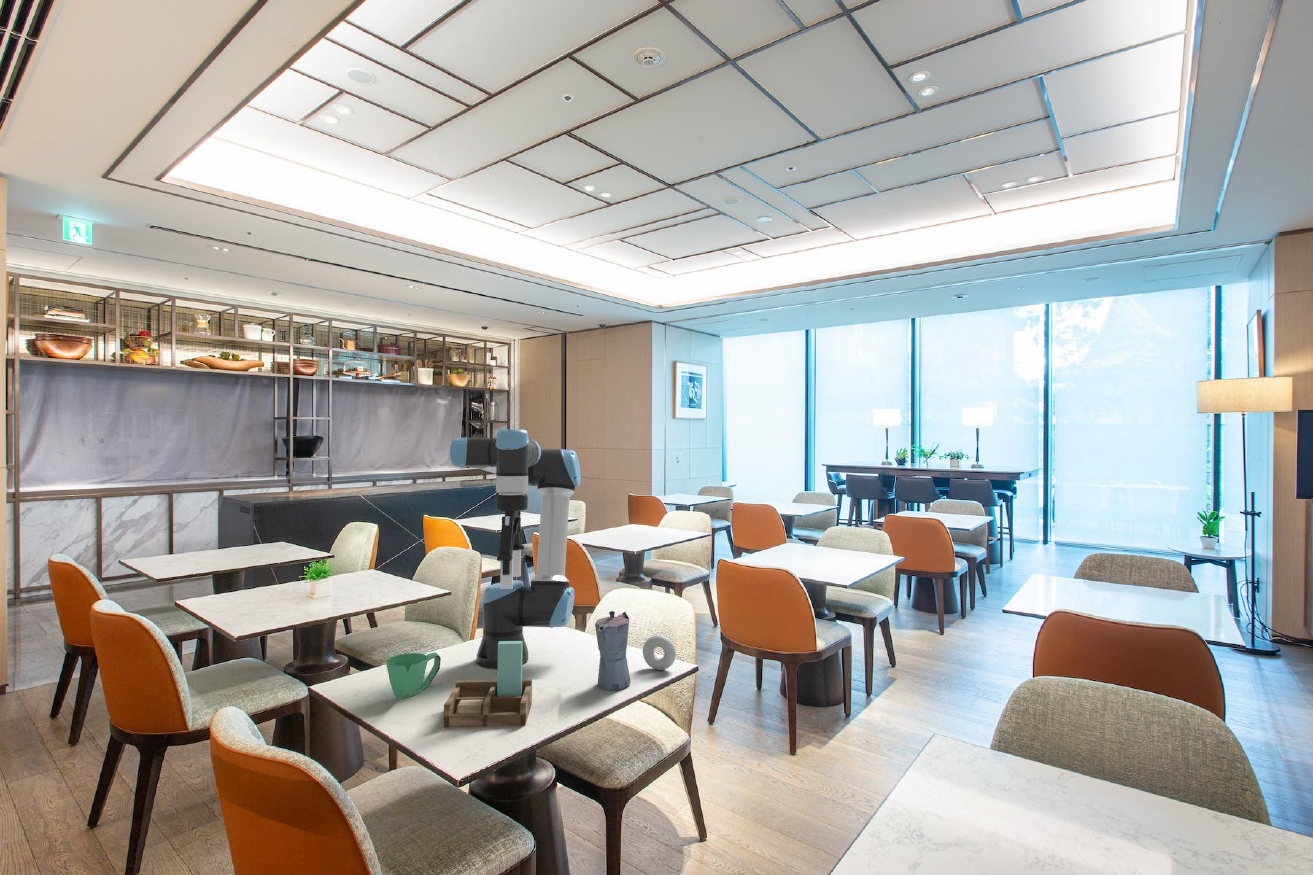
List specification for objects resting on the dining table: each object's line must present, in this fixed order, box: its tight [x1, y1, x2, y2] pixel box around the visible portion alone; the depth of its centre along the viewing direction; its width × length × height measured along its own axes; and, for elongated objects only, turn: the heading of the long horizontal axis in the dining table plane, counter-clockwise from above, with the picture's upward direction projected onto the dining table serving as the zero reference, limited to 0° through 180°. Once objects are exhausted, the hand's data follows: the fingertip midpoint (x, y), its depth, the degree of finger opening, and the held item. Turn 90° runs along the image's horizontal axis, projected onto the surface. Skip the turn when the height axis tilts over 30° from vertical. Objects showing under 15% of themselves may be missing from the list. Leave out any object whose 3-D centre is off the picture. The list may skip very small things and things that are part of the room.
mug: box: [385, 652, 442, 702], centre depth 165 cm, size 15×10×10 cm
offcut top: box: [458, 700, 484, 714], centre depth 147 cm, size 3×5×2 cm, turn 94°
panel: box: [496, 641, 523, 697], centre depth 153 cm, size 2×6×16 cm, turn 94°
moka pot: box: [594, 610, 631, 691], centre depth 174 cm, size 10×15×20 cm, turn 158°
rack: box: [443, 678, 533, 729], centre depth 150 cm, size 12×18×8 cm, turn 94°
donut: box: [642, 634, 677, 671], centre depth 185 cm, size 10×4×10 cm, turn 71°
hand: (510, 582), depth 153 cm, fingers open, 13 cm apart
